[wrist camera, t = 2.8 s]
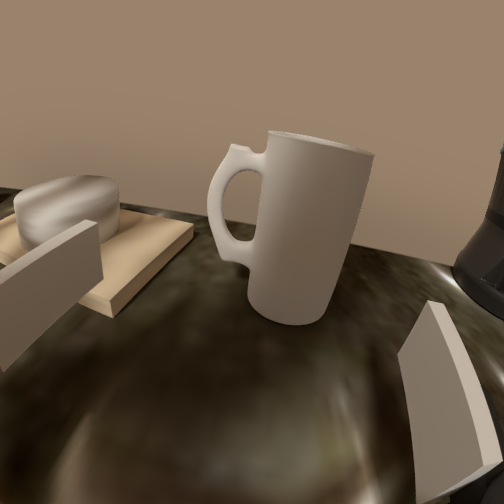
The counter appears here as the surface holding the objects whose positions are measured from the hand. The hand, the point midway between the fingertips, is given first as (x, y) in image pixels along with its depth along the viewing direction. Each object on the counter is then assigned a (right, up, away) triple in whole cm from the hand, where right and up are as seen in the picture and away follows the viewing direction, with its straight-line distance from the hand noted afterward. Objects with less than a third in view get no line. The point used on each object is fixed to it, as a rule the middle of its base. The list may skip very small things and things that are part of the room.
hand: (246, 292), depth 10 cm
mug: (+1, -2, +12) cm, 12 cm away
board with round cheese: (-18, +2, +14) cm, 23 cm away
